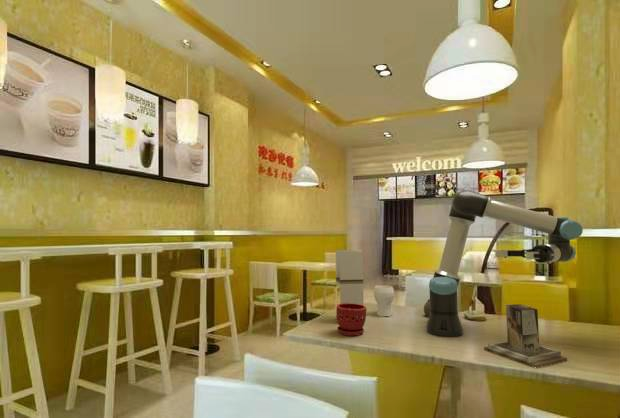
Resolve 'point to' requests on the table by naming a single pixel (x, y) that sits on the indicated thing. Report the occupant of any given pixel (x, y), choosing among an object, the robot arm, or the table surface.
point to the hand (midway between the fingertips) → (510, 254)
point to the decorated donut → (474, 315)
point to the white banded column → (350, 276)
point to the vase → (427, 308)
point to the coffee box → (522, 329)
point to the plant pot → (351, 318)
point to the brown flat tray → (543, 359)
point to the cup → (384, 299)
